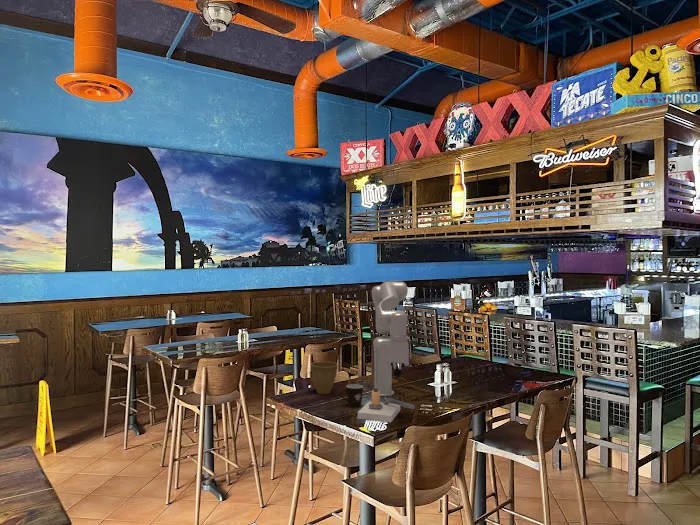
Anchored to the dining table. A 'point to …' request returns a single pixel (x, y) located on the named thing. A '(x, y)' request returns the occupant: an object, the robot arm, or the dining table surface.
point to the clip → (398, 403)
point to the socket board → (379, 412)
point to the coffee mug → (354, 395)
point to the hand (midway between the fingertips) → (397, 377)
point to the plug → (375, 400)
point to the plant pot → (324, 376)
